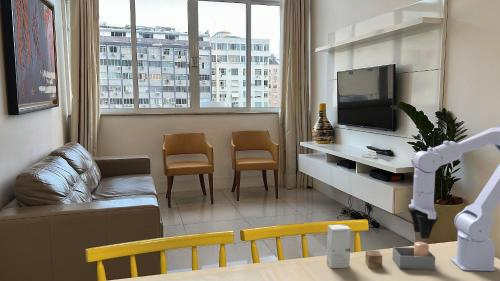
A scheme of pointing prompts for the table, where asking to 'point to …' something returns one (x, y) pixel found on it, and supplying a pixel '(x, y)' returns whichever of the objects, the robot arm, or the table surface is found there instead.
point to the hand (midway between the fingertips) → (421, 234)
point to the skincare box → (338, 246)
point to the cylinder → (421, 249)
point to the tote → (412, 259)
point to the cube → (373, 259)
